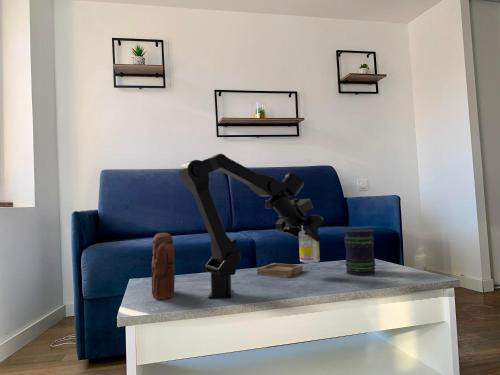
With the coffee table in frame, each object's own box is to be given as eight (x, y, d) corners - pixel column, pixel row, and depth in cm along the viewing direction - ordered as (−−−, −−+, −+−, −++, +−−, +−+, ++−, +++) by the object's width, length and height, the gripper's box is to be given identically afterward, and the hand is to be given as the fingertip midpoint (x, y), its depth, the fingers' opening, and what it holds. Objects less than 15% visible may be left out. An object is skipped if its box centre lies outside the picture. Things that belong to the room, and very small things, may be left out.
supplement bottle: (313, 259, 120) (311, 222, 120) (323, 262, 114) (322, 223, 114) (296, 261, 117) (294, 223, 118) (306, 264, 111) (304, 224, 112)
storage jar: (378, 276, 114) (376, 231, 115) (348, 276, 116) (345, 231, 117) (372, 270, 124) (370, 228, 125) (344, 270, 126) (342, 229, 126)
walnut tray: (287, 277, 117) (286, 271, 117) (257, 274, 123) (257, 268, 124) (302, 271, 127) (302, 265, 127) (274, 268, 133) (274, 262, 133)
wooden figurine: (151, 291, 105) (149, 232, 106) (172, 289, 107) (170, 231, 108) (153, 301, 94) (151, 235, 95) (177, 298, 96) (175, 233, 97)
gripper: (318, 189, 107) (344, 223, 112) (280, 191, 122) (305, 221, 128) (299, 215, 102) (327, 249, 108) (263, 214, 118) (289, 244, 123)
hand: (311, 239), depth 117 cm, fingers closed on supplement bottle, 7 cm apart
